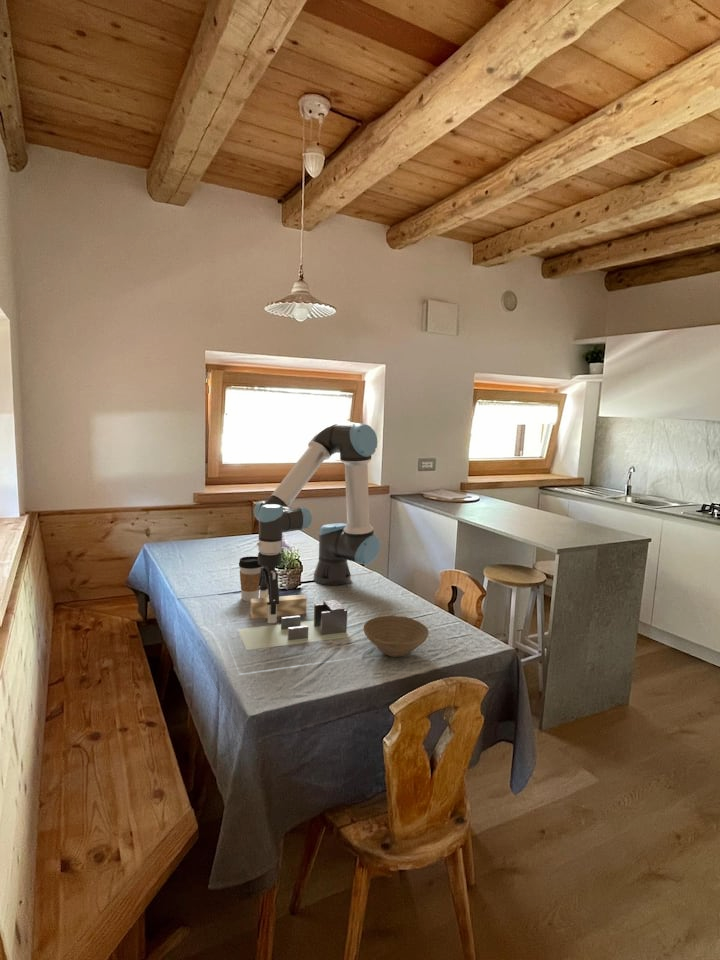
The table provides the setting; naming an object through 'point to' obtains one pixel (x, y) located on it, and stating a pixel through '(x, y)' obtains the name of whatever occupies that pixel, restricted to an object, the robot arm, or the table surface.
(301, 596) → the pine slat
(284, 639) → the sage board
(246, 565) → the coffee cup
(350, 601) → the table surface
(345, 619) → the end cap
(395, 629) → the bowl
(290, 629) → the open saddle
